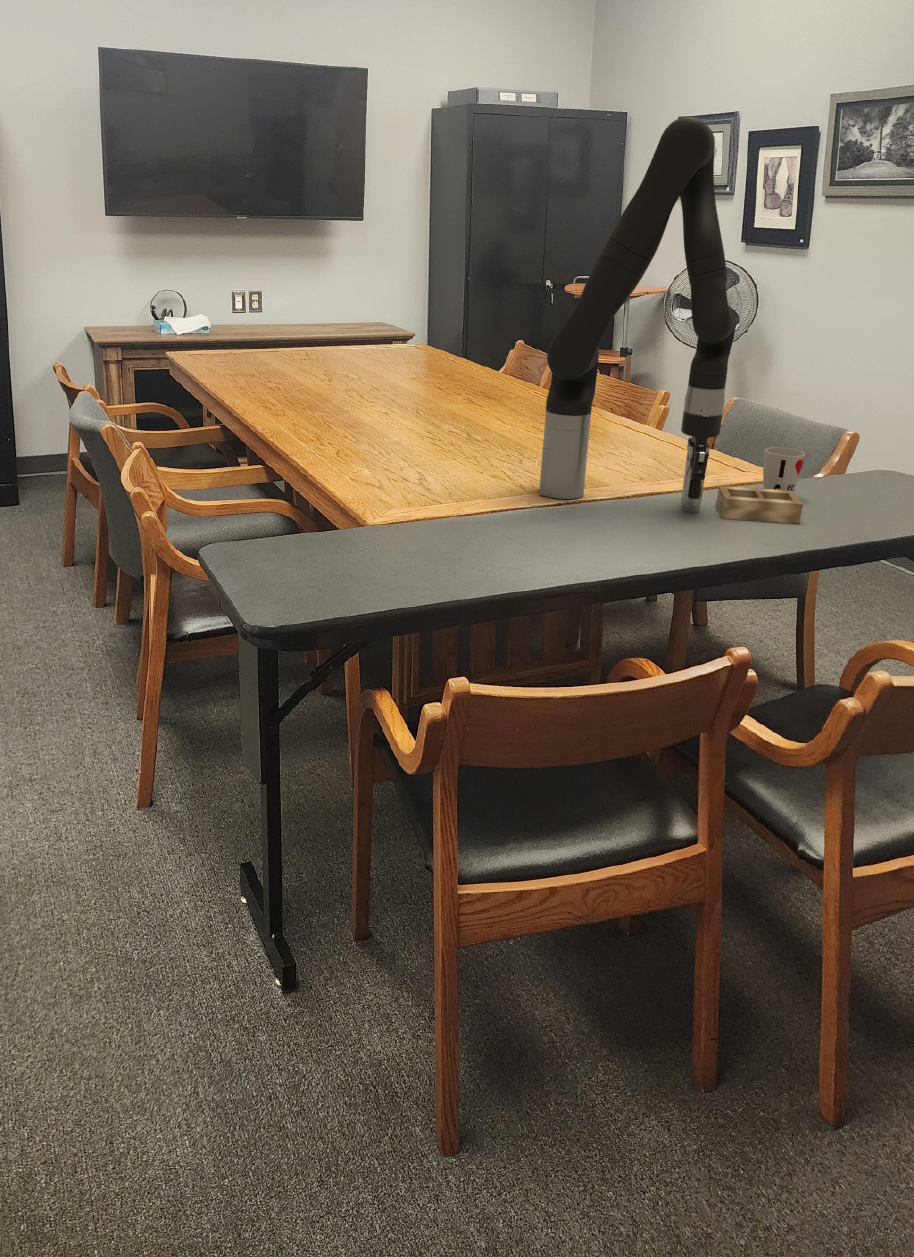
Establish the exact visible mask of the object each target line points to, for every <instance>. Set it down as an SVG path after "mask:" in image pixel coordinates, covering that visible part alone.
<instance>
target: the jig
mask: <svg viewBox="0 0 914 1257" xmlns="http://www.w3.org/2000/svg"><path fill="white" fill-rule="evenodd" d="M803 505H804V503H803V502H802V501H801V499H800V497H799V496H798V495H797V494H796V492H795V490H794V491H788V490H773V489H764V488H756V487H744V486H743V487H742V486H727V485H718V489H717V496H716V505H715V506H716V507H717V510H718V511H719V514H720V516H721V519H724V520H725V519H728V520H740V521H741V520H742V521H755V522H769V523H781V524H782V523H785V524H797V525H799V524H800V523H801V517H802V511H803Z"/></svg>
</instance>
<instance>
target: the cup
mask: <svg viewBox="0 0 914 1257" xmlns="http://www.w3.org/2000/svg"><path fill="white" fill-rule="evenodd" d="M805 456H806V453H805V452H804V451H801V450H799V449H798V450H797V449H794V448H788V447H767V448H765V449H764V457H763V468H762V475H763V476H762V477H763V478H762V480H763V481H762V482H763V484H762V485H763V489H773V490H788V491H794V492H795V489H796V487H797V484H798V481H799V479H800V475H801V473H802V467H803V464H804V460H805Z"/></svg>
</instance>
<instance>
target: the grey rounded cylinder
mask: <svg viewBox="0 0 914 1257" xmlns="http://www.w3.org/2000/svg"><path fill="white" fill-rule="evenodd" d="M692 463H693V462H692ZM688 464H689V460H687V461H686V460H685V468H684V476H683V484H682V491H681V498H680V499H681V500H680V505H679V511H680V512H682V513H685V514H691V515H692V514H693V515H694V514H699V513H700V512H701V505H702V500H703V493H704V485H705V479H704V480H703V481H702V482H701V489H700V496H699V499H689V498H688V491H689V483H690V478H689V476H690V471H691V469H690V468H689V467H688ZM700 471H701V470H699V469H697V470H696V471H695V473H700Z"/></svg>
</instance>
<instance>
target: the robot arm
mask: <svg viewBox="0 0 914 1257" xmlns="http://www.w3.org/2000/svg"><path fill="white" fill-rule="evenodd" d="M715 139H716V138H715V135H714V133H713V131H712V129H711V128H710V126H709V125H708V124H707V123H705V122H704V121H703V120H701V119H699V118H698V117H695V116H682V117H679V118H676V119H675V120H673V121H672V122H670V124H668V126H666V128H665V129H664V131H663V132H662V134H661V137H660V139H659V140H658V143H657V146H656V148H655V151H654V153H653V155H652V158H651V160H650V163H649V164H648V168H647V169H646V172H645V174H644V176H643V179H642V181H641V183H640V185H639V186H638V189H636V192H635V193H634V195H633V196H632V198H631V200H630V201H629V203H628V204H627V205H626V208H625V209H624V211H623V212H622V213H621V216H620V217H619V218H618V221H617V222H616V224H615V226H614V227H613V229H612V230H611V232H610V234H609V236H608V238H607V240H606V241H605V243H604V245H603V247H602V249H601V251H600V253H599V255H598V257H597V259H596V260H595V263H594V265H593V266H592V269H591V271H590V274H589V276H588V278H587V280H586V282H585V285H584V286H583V289H582V291H581V294H580V296H579V298H578V301H577V302H576V304H575V306H574V308H573V310H572V311H571V312H570V313H569V314H570V315H569V316H568V317H567V319H566V320H565V322H564V324H563V325H562V326H561V328H560V329H559V330H558V332H557V333H556V334H555V337H554V338H553V339H552V340H551V342H550V343H549V345H548V348H547V352H546V353H547V354H546V359H547V360H546V361H547V365H548V368H549V370H550V372H551V380H550V386H549V390H548V393H547V396H546V400H545V401H546V403H545V417H544V431H543V443H542V453H541V454H542V455H541V466H540V477H539V478H540V479H539V480H540V481H539V493H538V496H543V497H548V498H553V499H561V500H572V499H574V500H575V499H579V498H582V497H583V496H584V492H585V486H586V485H585V484H586V483H585V482H586V472H587V461H588V449H589V440H590V428H591V418H592V417H591V416H592V409H593V408H592V407H593V402H594V398H595V395H596V385H597V376H598V371H599V370H598V368H599V361H600V360H599V359H600V357H599V356H600V351H599V345H600V343H601V340H602V338H603V336H604V334H605V331H606V330H607V328H608V326H609V324H610V323H611V321H612V319H613V318H614V317H615V316H616V314H617V312H618V311H619V310H620V309H621V308H622V306H623V305H624V304H625V303H626V301H627V300H628V299H629V297H630V296H631V295H632V293H633V292H634V291H635V289H636V288H637V286H638V284H639V283H640V282H641V280H642V278H643V277H644V275H645V273H646V271H647V269H648V268H649V266H650V264H651V262H652V260H653V259H654V256H656V253H657V251H658V249H659V246H660V244H661V242H662V239H663V236H664V234H665V231H666V228H667V225H668V222H669V219H670V216H671V213H673V212H672V211H673V209H674V207H675V205H676V203H677V202H678V200H679V198H680V204H681V205H680V206H681V211H682V212H681V214H682V231H683V232H682V233H683V234H682V235H683V248H684V250H683V251H684V259H685V265H686V271H687V276H688V277H687V278H688V283H689V286H690V306H691V307H690V308H691V309H690V310H691V311H690V312H691V320H692V327H693V331H694V334H695V335H696V337H697V340H696V341H697V342H696V349H695V354H694V355H693V357H692V360H691V363H690V368H689V376H688V382H687V389H686V393H685V397H684V406H683V412H682V421H681V427H680V430H681V431H680V432H681V433H682V434H684V435H686V436H689V437H688V440H687V445H686V448H687V453H686V457H685V458H686V459H685V462H686V461H687V460H689V464H688V467H689V468H690V469H691V471H690V476H689V478H690V483H689V491H688V498H689V499H699V496H700V489H701V482H702V481H703V480H704V481H705V478H706V473H707V472H706V471H707V467H708V461H709V457H710V450H711V448H710V445H709V442H708V439H709V438H716V437H719V435H720V434H721V429H722V423H723V422H722V421H723V415H724V408H725V407H724V406H725V397H726V396H725V395H726V394H725V392H726V384H727V375H728V369H729V368H728V366H729V357H730V354H731V351H732V346H733V343H734V338H735V332H736V328H737V327H736V326H737V316H736V312H735V311H734V310H733V308H732V307H731V306H730V305H729V301H728V294H727V283H728V270H727V263H726V258H725V250H724V245H723V239H722V232H721V228H720V223H719V222H720V221H719V217H718V216H719V214H718V210H717V203H716V194H715V193H716V192H715V178H714V177H715V175H714V174H715V146H716V140H715ZM692 462H693V463H692ZM697 469H699V470H701V471H700V473H695V471H696V470H697Z"/></svg>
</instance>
